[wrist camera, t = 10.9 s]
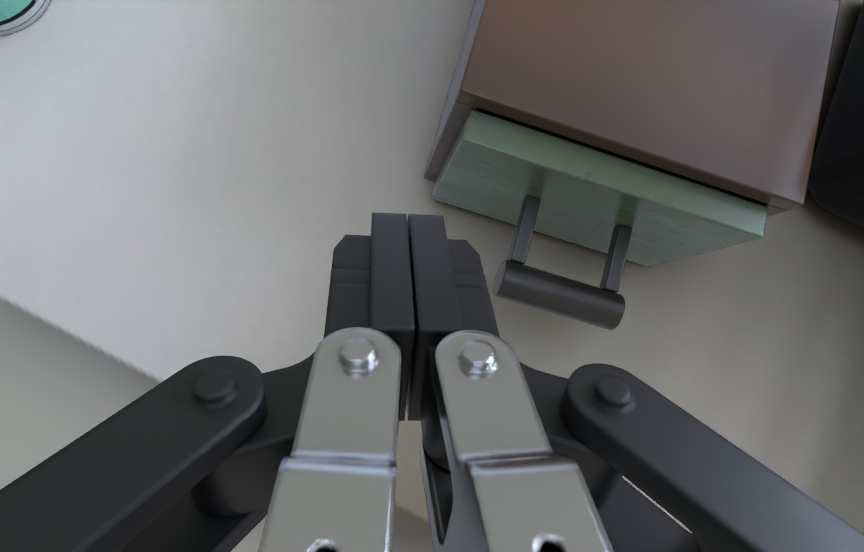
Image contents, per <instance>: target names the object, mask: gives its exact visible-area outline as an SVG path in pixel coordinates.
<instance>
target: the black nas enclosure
mask: <svg viewBox="0 0 864 552" xmlns="http://www.w3.org/2000/svg"><path fill="white" fill-rule="evenodd" d="M807 187H808V189H809V191H810V193H811V195H812V197H813V199H814V201H815V202H816V203H817V204H818V205H819V206H820V207H821V208H823V209H825V210H827V211H828V212H831V213H833V214H835V215H837V216H839V217H841V218H843V219H845V220H847V221H849V222H851V223H853V224H855V225H857V226H859V227H861V228H863V229H864V2H863V5H862V8H861V11H860V15H859V18H858V21H857V24H856V27H855V30H854V33H853V36H852V39H851V43H850V46H849V49H848V52H847V55H846V58H845V61H844V64H843V68H842V71H841V74H840V77H839V80H838V83H837V86H836V89H835V93H834V96H833V99H832V102H831V105H830V108H829V111H828V114H827V117H826V121H825V124H824V127H823V130H822V133H821V136H820V139H819V142H818V146H817V149H816V152H815V155H814V158H813V161H812V164H811V168H810V173H809V179H808V184H807Z"/></svg>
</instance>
